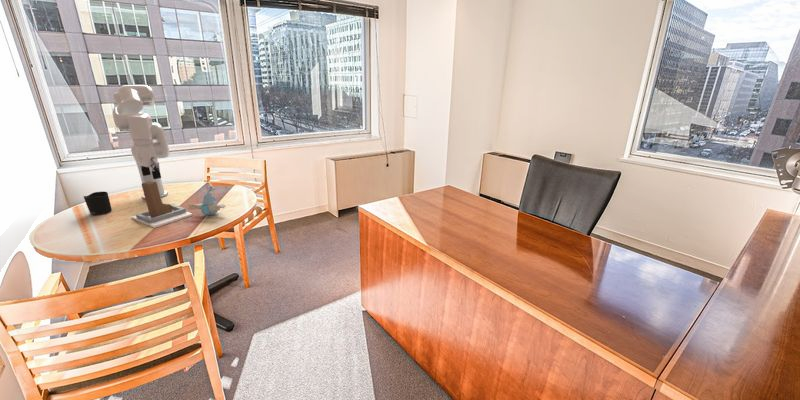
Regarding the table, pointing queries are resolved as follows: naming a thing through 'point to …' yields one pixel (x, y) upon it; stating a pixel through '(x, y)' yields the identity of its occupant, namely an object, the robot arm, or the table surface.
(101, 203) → the pen holder
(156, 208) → the wooden block
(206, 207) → the toy figure
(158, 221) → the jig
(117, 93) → the robot arm
